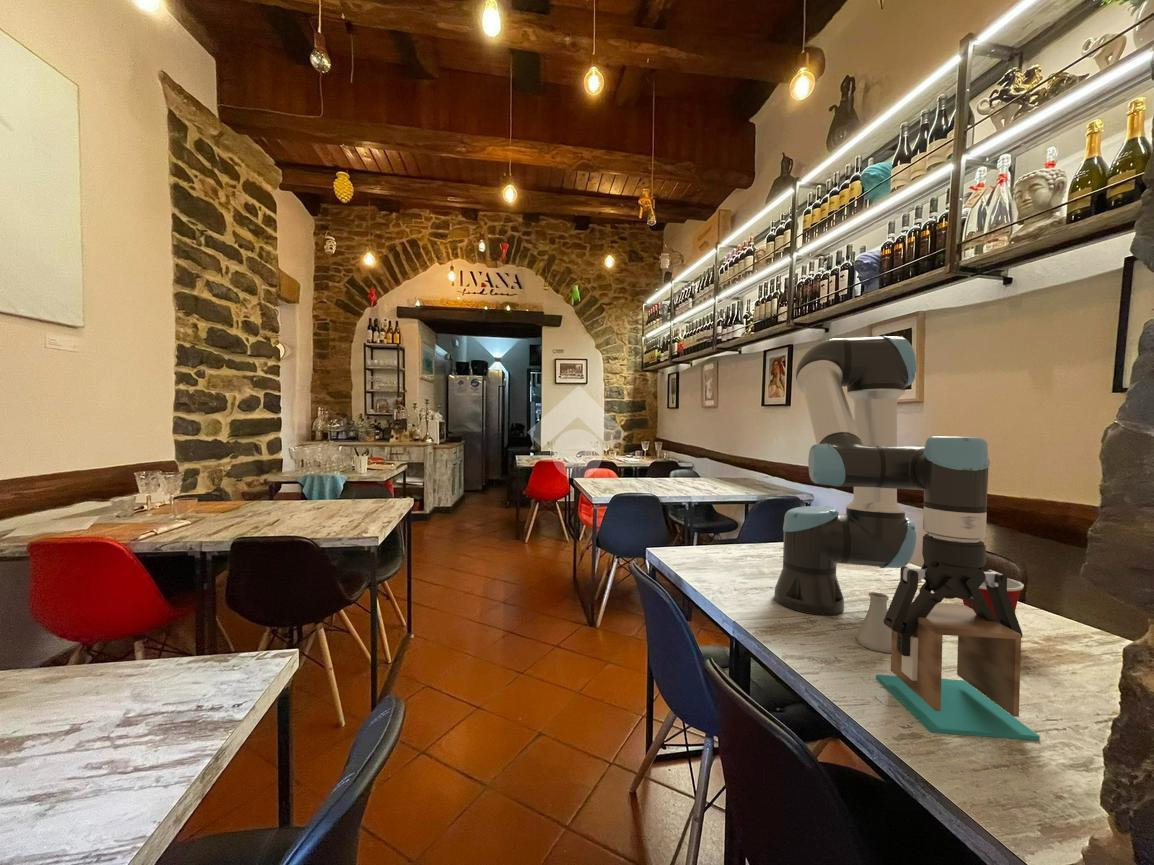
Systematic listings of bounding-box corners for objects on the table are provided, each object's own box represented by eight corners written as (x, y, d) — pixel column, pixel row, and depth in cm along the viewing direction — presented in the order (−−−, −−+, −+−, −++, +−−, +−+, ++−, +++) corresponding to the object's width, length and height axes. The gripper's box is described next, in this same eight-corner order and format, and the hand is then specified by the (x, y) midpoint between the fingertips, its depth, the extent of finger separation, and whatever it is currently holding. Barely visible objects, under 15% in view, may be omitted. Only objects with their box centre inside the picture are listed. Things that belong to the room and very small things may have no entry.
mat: (875, 678, 78) (875, 674, 78) (964, 683, 77) (964, 680, 77) (930, 732, 65) (930, 727, 65) (1039, 740, 63) (1039, 736, 63)
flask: (908, 654, 87) (910, 602, 87) (869, 653, 87) (871, 601, 87) (884, 637, 94) (885, 588, 94) (848, 636, 94) (849, 587, 94)
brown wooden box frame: (890, 670, 77) (892, 600, 77) (961, 675, 76) (963, 604, 76) (935, 710, 66) (937, 629, 66) (1018, 716, 65) (1021, 634, 65)
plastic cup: (952, 620, 103) (954, 567, 103) (1019, 635, 96) (1021, 578, 96) (952, 637, 94) (954, 579, 94) (1025, 654, 88) (1027, 592, 87)
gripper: (886, 539, 68) (882, 686, 68) (1060, 546, 66) (1056, 698, 66) (860, 528, 75) (857, 661, 76) (1015, 534, 73) (1011, 671, 73)
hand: (949, 678), depth 71 cm, fingers closed on brown wooden box frame, 11 cm apart
